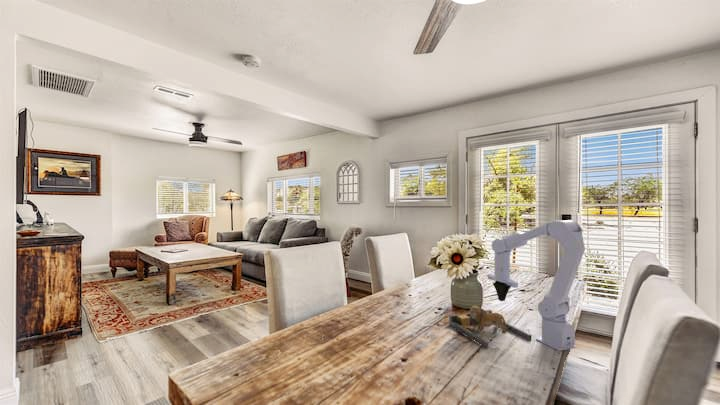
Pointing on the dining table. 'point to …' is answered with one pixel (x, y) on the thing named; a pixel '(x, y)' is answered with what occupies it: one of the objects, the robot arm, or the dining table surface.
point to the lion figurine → (487, 318)
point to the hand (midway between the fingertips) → (501, 300)
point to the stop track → (465, 319)
